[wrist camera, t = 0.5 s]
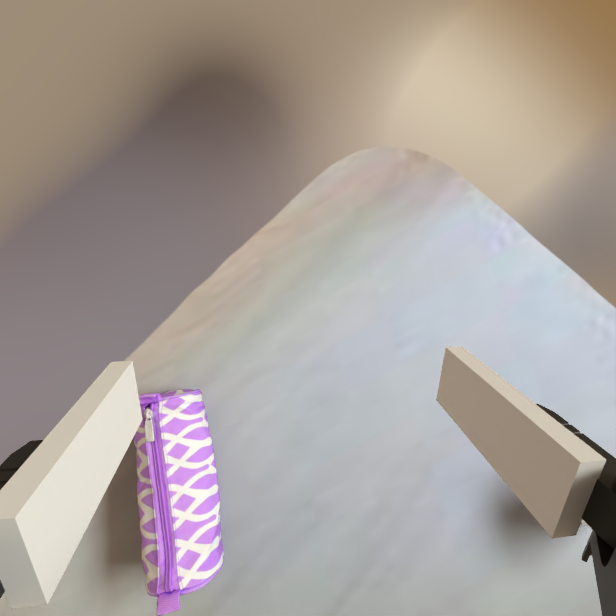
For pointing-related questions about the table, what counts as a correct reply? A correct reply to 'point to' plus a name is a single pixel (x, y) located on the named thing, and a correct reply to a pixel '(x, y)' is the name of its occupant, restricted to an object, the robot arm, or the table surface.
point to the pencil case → (177, 496)
